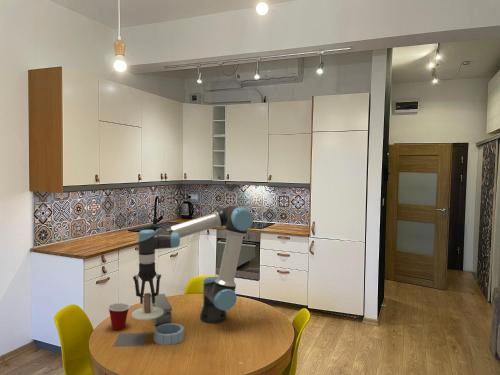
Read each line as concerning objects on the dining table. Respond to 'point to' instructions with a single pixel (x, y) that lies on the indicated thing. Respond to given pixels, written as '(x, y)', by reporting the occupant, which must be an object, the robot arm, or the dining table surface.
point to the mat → (130, 339)
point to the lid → (147, 310)
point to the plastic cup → (118, 315)
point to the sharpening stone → (165, 305)
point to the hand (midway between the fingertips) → (147, 309)
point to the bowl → (169, 334)
